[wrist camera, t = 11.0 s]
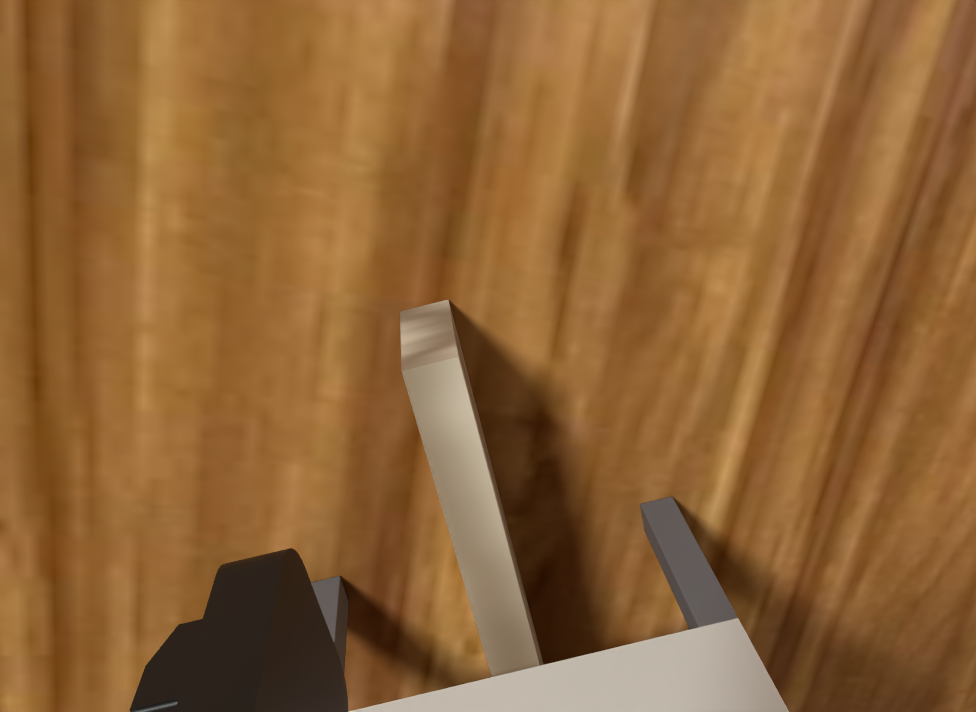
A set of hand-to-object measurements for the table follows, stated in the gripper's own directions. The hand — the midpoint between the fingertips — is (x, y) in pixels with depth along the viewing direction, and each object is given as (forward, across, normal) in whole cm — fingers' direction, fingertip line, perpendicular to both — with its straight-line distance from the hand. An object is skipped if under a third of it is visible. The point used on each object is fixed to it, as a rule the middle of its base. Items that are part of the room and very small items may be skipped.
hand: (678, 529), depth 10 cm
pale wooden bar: (+26, +4, +19) cm, 32 cm away
